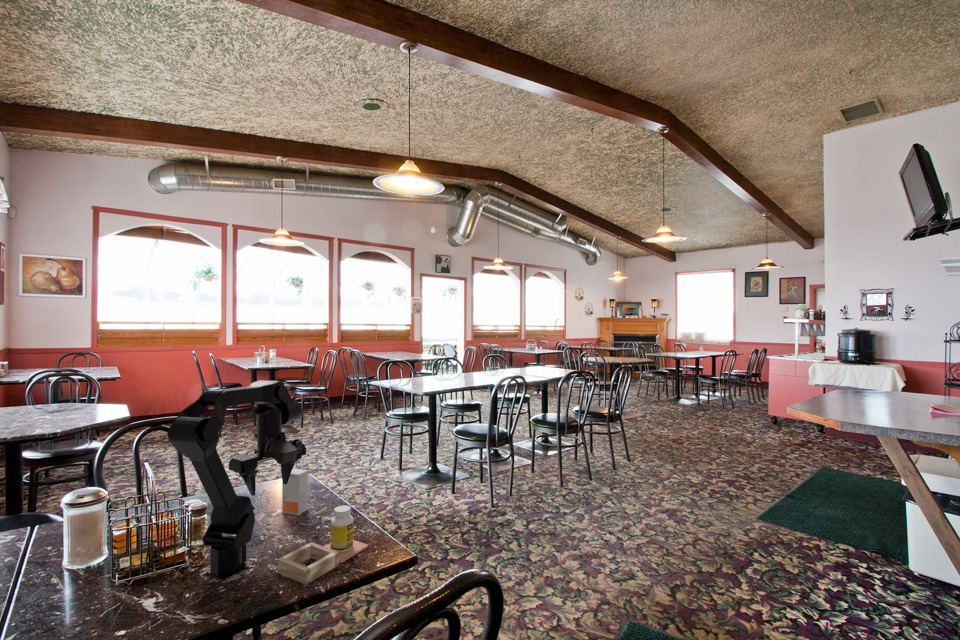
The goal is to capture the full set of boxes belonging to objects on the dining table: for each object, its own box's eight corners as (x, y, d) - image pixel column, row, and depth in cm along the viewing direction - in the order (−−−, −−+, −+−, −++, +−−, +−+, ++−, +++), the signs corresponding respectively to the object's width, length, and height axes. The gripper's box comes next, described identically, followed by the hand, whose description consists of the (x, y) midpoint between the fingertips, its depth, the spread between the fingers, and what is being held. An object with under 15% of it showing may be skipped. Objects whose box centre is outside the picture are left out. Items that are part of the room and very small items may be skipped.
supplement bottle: (349, 553, 113) (349, 513, 113) (327, 553, 113) (327, 513, 113) (355, 542, 119) (356, 504, 119) (334, 542, 119) (334, 503, 119)
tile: (341, 563, 110) (341, 561, 110) (314, 553, 115) (314, 551, 115) (368, 546, 118) (368, 544, 118) (342, 538, 122) (342, 536, 122)
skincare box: (281, 513, 137) (281, 472, 137) (291, 507, 142) (291, 467, 141) (299, 515, 136) (299, 474, 136) (308, 510, 140) (308, 469, 140)
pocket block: (305, 584, 101) (305, 571, 101) (277, 572, 106) (277, 559, 106) (339, 564, 109) (339, 552, 109) (311, 554, 114) (311, 542, 114)
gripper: (255, 442, 109) (255, 509, 109) (320, 425, 125) (320, 484, 125) (227, 435, 114) (227, 499, 115) (292, 420, 130) (292, 476, 131)
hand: (269, 489), depth 121 cm, fingers open, 9 cm apart
